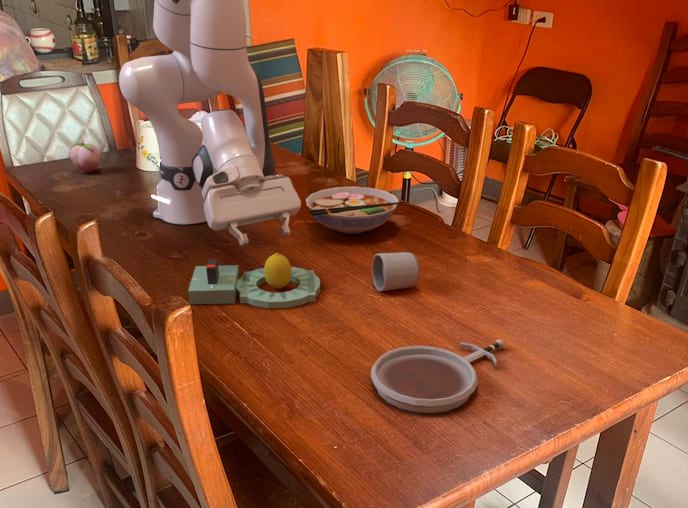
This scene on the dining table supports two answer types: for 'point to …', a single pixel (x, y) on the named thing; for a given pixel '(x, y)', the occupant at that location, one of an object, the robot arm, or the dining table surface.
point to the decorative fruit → (85, 156)
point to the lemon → (277, 271)
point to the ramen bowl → (352, 208)
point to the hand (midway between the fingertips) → (265, 239)
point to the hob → (296, 297)
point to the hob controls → (214, 286)
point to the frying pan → (428, 377)
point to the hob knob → (212, 271)
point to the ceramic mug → (395, 271)
